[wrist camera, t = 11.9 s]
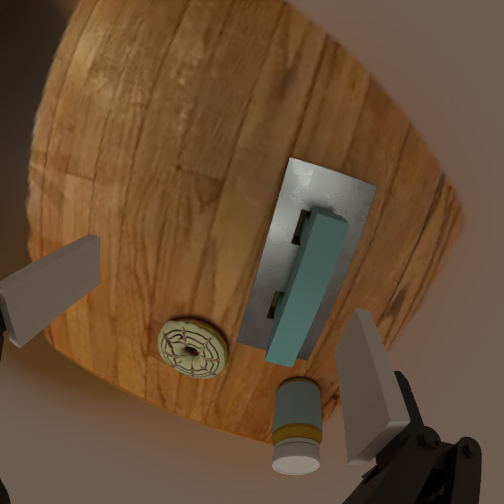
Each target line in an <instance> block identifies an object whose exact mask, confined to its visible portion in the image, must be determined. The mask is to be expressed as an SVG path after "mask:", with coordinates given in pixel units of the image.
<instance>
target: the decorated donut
mask: <svg viewBox="0 0 504 504" xmlns="http://www.w3.org/2000/svg"><path fill="white" fill-rule="evenodd" d="M187 346H188V347H193V348H196V350H197V351H194V350H191V349H189V348H188V347H187ZM158 348H159V351H160V355H161V356H162V358H163V359H164V360H165V361H166V362H167V363H168V364H169V365H170V366H171V367H173V368H174V369H176V370H177V371H178V372H180V373H182V374H184V375H187V376H190V377H193V378H211V377H214V376H215V375H217V374H219V373H220V372H221V371H223V369H224V367H225V365H226V363H227V358H228V350H227V345H226V343H225V341H224V339H223V338H222V336H221V334H220V333H219V332H218V331H217V330H216V329H215V328H213V327H212V326H210V325H209V324H207V323H205V322H203V321H200V320H197V319H180V320H176V321H173V320H170V321H168V322H166V323H165V324H164V326H163V328H162V330H161V331H160V333H159V338H158Z"/></svg>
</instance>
